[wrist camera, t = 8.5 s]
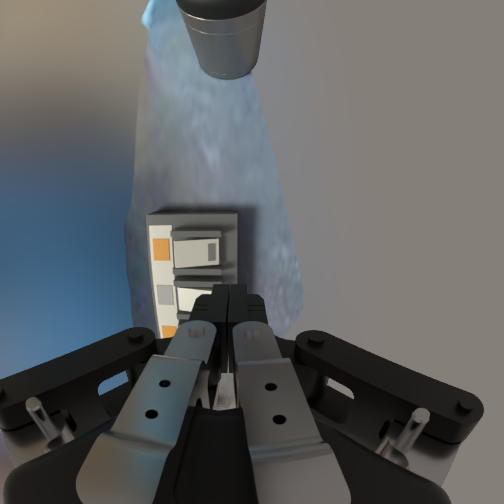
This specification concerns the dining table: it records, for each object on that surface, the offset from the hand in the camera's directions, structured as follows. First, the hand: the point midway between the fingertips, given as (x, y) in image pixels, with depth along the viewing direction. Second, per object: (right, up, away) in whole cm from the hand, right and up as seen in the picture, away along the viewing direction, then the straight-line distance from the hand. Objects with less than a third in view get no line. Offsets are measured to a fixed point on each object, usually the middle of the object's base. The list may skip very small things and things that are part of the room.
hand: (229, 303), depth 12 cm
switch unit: (-8, -3, +30) cm, 31 cm away
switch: (-6, +2, +24) cm, 25 cm away
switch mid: (-7, -4, +26) cm, 27 cm away
